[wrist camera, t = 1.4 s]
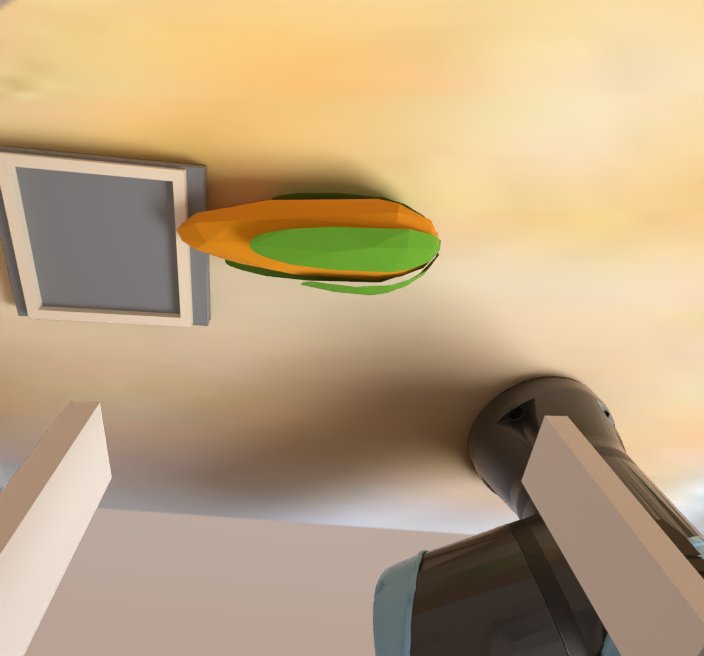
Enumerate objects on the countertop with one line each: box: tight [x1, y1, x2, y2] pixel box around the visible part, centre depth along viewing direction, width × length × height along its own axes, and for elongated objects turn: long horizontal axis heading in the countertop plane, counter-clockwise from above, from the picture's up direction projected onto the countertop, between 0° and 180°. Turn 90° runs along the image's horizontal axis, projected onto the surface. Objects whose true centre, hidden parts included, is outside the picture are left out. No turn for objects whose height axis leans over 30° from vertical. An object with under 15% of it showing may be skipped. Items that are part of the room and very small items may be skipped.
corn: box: [177, 193, 441, 295], centre depth 35 cm, size 7×8×20 cm
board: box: [0, 145, 211, 327], centre depth 36 cm, size 13×15×2 cm
